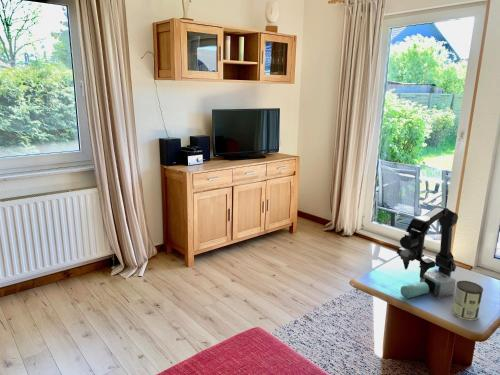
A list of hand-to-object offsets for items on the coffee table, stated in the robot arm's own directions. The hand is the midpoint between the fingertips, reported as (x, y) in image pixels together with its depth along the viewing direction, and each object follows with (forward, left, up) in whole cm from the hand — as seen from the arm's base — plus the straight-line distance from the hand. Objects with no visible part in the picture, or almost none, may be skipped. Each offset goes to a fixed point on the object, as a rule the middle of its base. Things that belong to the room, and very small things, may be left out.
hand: (413, 273), depth 180 cm
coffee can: (-10, +22, -12) cm, 27 cm away
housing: (-15, +2, -12) cm, 19 cm away
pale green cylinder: (-1, +2, -11) cm, 11 cm away
